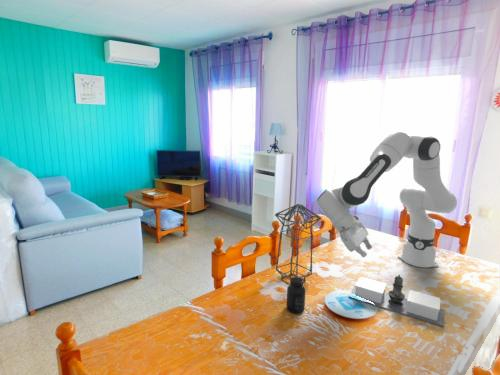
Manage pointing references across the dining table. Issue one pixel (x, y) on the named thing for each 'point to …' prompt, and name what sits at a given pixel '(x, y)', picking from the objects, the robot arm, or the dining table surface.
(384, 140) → the robot arm
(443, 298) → the dining table surface
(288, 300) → the supplement bottle
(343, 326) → the dining table surface
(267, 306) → the dining table surface
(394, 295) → the dark grey upright figurine
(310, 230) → the geometric lantern
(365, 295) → the grey mounting plate
